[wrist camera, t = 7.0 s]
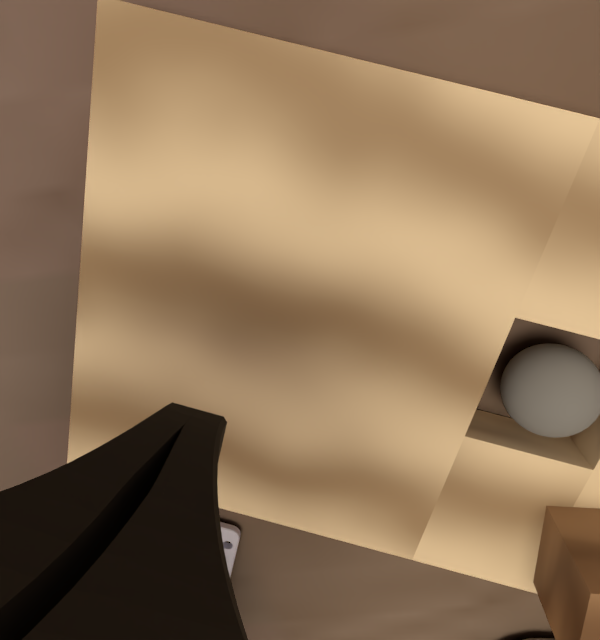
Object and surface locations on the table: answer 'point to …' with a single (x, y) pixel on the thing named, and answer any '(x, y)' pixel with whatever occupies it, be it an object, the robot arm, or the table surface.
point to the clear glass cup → (540, 639)
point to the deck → (334, 283)
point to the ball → (551, 390)
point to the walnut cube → (570, 572)
